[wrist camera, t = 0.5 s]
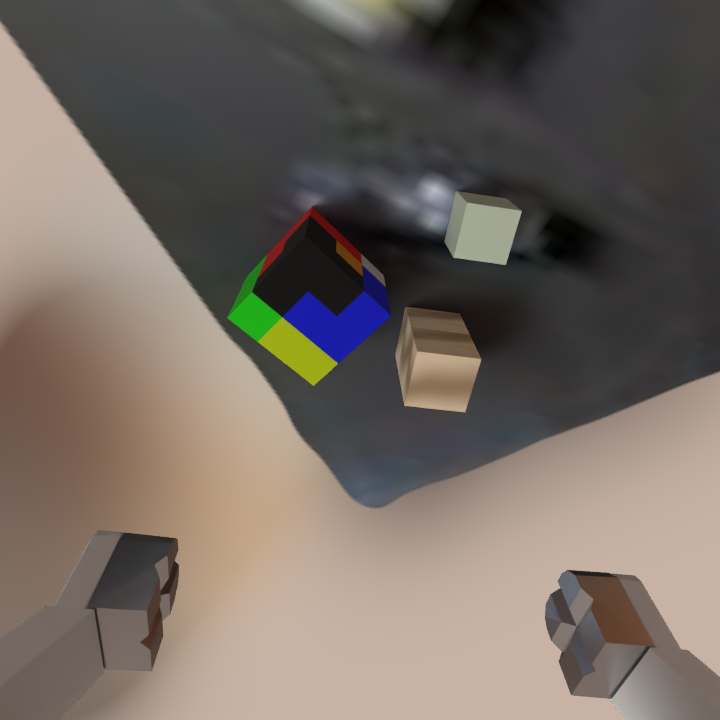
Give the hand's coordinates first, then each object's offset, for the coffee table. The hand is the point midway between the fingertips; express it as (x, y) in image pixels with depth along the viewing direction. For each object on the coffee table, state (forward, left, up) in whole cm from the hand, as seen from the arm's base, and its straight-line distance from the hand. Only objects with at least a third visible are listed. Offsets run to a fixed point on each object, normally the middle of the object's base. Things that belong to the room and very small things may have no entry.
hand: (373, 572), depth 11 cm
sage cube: (+2, +13, -43) cm, 45 cm away
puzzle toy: (+10, -2, -43) cm, 44 cm away
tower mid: (+15, +11, -38) cm, 42 cm away
